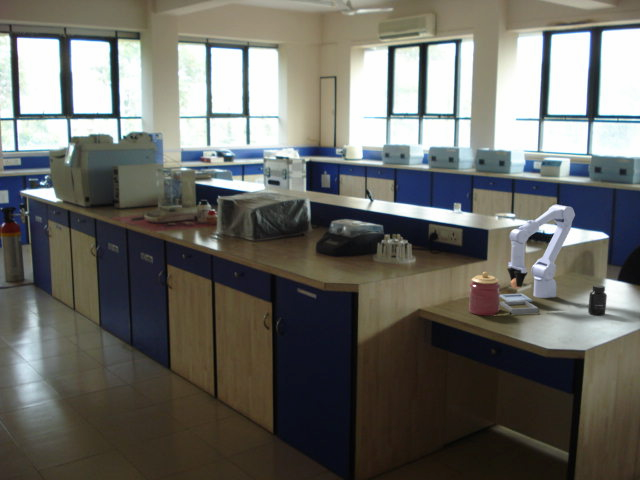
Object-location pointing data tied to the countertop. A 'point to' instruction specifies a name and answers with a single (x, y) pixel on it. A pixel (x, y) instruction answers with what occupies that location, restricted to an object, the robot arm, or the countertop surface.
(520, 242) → the robot arm
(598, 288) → the supplement bottle
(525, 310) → the tray
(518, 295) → the dish
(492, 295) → the canister
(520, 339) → the countertop surface
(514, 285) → the ball
